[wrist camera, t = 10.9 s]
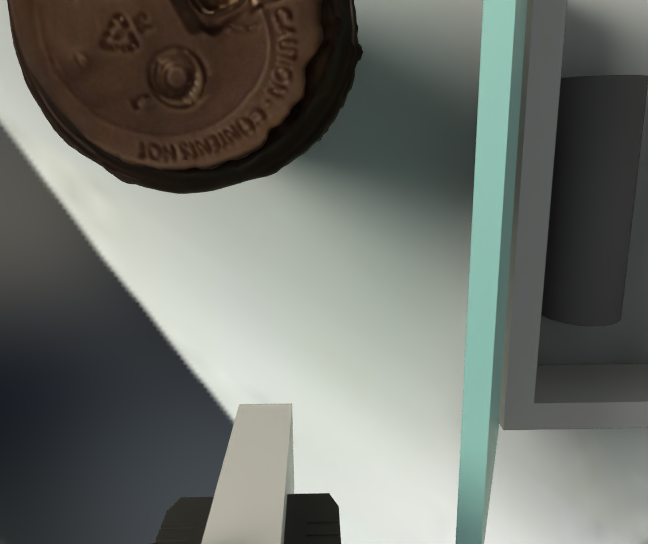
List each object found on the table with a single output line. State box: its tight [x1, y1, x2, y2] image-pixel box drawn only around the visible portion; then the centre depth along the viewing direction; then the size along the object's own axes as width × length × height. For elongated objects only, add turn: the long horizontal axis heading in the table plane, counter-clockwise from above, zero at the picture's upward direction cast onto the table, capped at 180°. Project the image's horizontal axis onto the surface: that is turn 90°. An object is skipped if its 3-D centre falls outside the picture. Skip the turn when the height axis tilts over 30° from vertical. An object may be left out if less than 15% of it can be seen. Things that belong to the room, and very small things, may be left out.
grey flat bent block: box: [499, 0, 648, 430], centre depth 25 cm, size 18×9×4 cm, turn 1°
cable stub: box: [541, 75, 648, 326], centre depth 26 cm, size 10×3×3 cm, turn 1°
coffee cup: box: [7, 0, 363, 194], centre depth 19 cm, size 9×8×13 cm
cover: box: [456, 0, 527, 544], centre depth 19 cm, size 18×9×1 cm
